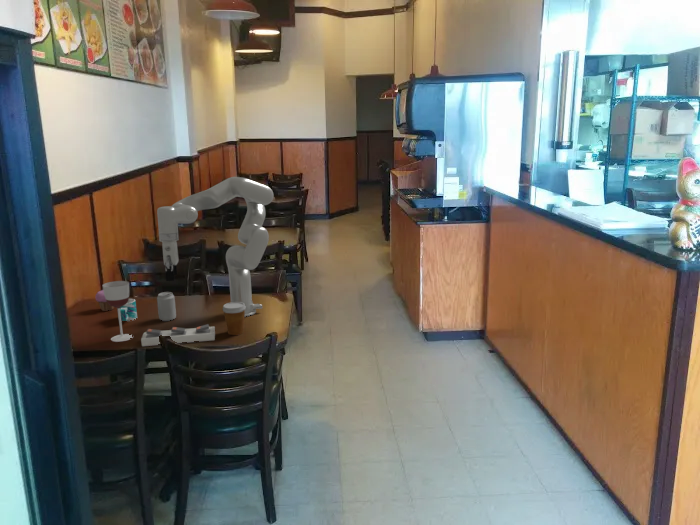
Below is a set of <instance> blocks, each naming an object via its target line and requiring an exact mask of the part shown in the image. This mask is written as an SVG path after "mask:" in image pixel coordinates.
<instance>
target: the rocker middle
mask: <svg viewBox="0 0 700 525" xmlns="http://www.w3.org/2000/svg"><path fill="white" fill-rule="evenodd" d="M185 329H186V327H177V326H172V328H171V330H172V331H171V332H177V333H184V332H185Z"/></svg>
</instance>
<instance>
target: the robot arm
mask: <svg viewBox="0 0 700 525" xmlns="http://www.w3.org/2000/svg"><path fill="white" fill-rule="evenodd" d="M274 196H275V195H274V192H273V189H271V187H269V186H268V185H265V184H262V183H260V182H257V181H254V180H252V179H249V178H246V177H242V176H241V177H240V176H232V177H231V176H230V177H228V178H226V179H224V180H222V181H221V182H219V183H217V184H215V185H213V186H212V187H210V188H208V189H206V190H202V191H200V192H196V193H193V194H191V195H188V196H186V197H184V198H181V199H180V200H178V201H175V203H173V204H172V205H169V206H168V205H167V206H160V207H158V208H157V211H156V212H157V214H156V215H157V216H156V217H157V224H158V229H157V230H158V239H159V240H158V241H159V242H161V243H162V245H161V246H162V256H163V257H162V258H163V266H165V272H164V273H165V281H166V282H173V281H175V276H177V275H178V270H177V265H178V263H179V260H180V259H179V250H178V242H177V241H179V240H180V239H179V227H178V225H179V224H183V225H184V224H185V225H186V224H193V223H194V222H196V220H197V219H198V216H199V214H198V213H199V211H204V210H210V209H216V208H219V207H221V206H222V205H224V204H226V203H227V202H229V201H231V200H233V199H234V198H237V197H238V198H243V199H244V201H245V203H246V207H247V208H246V210H247V211H246V214H245V215H244V216H245V217H244V219H243V221H242V222H241V226H240V228H239V230H238V233H237V240H238V241H239V242H240V244H244V245H246V246H243V245H232V246H230V247H229V248H228V249H227V250H226V253H225V262H226V266H227V271H228V282H229V292H230V303H231V302H242V303H244V305H245V306H246V308H245V315H244V318H246V316H247V317H250V315H251V316H253V315H255V314H256V313H257V310H258V309H259V310H260V309H261V310H262V309H263V304H260V303H254V301H253V300H252V299H253V297H252V282H251V281H252V280H251V279H252V278H251V271H252V270H254V269H256V268H257V267H258V266H259V264H260V262H261V260H262V258H263V256H264V253H265V251H266V249H267V246H268V244H269V239H270V236H269V232H268V230H267V228H265V227H263V225H264V221H265V219H266V214H267V213H266V207H265V206H267V205H269V204H271V203H272V201H273V200H274ZM256 309H257V310H256Z"/></svg>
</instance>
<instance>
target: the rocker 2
mask: <svg viewBox="0 0 700 525" xmlns="http://www.w3.org/2000/svg"><path fill="white" fill-rule="evenodd" d="M209 327H210V324H209V323H207V324H203V325H201V326H197V327H195V328H196V332H199V331H203V330H206V329H209Z"/></svg>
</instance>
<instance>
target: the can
mask: <svg viewBox="0 0 700 525" xmlns="http://www.w3.org/2000/svg"><path fill="white" fill-rule="evenodd" d="M175 299H176V297H175V295H174V294H173V292H171V291H164V292H163V291H162V292H160V293H158V294H157V296H156V301H157V312H158V319H159V320H160V321H161V320H162V322H170V320H171V321H173V319H174V320H175V318H177V310H176V300H175Z"/></svg>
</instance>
